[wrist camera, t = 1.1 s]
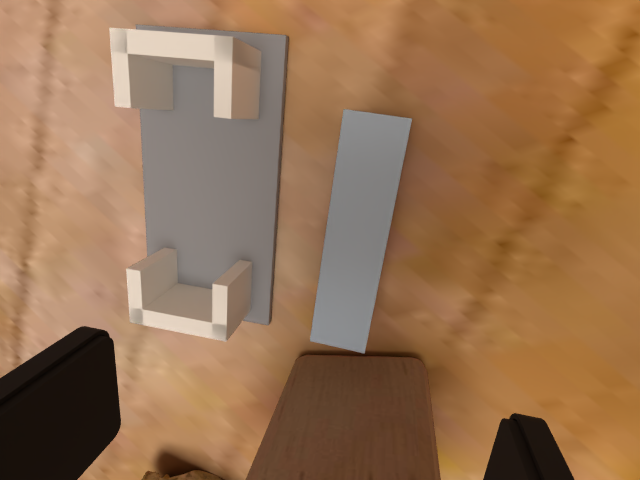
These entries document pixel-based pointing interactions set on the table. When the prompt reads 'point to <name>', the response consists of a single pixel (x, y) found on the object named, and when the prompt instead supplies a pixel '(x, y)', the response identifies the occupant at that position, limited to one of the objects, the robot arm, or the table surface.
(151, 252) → the endcap board
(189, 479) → the rock
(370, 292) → the blue-grey rectangular bar
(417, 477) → the wooden block
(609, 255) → the table surface
